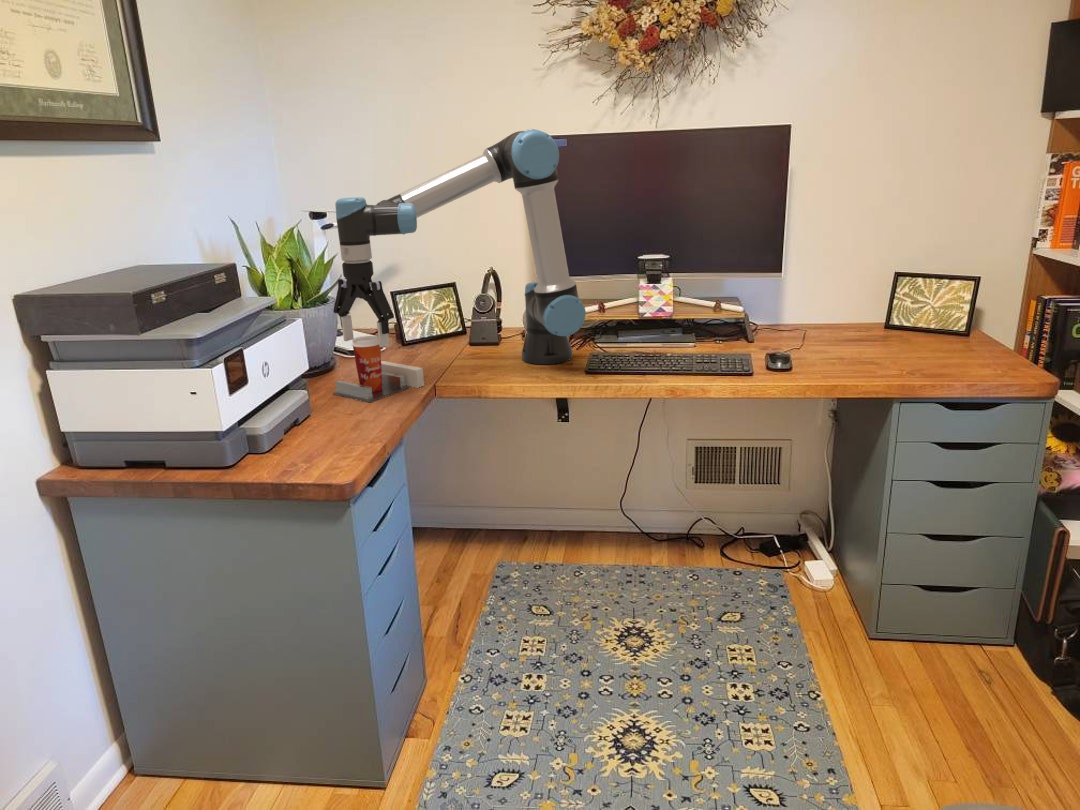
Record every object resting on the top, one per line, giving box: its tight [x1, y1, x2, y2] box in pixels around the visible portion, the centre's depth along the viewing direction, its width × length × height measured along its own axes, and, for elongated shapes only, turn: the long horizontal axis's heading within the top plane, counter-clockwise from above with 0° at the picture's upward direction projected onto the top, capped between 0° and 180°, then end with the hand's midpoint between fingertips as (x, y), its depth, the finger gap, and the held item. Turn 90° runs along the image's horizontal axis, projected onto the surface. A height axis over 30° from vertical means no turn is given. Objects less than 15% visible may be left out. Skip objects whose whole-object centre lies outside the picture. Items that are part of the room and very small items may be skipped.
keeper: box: [332, 372, 410, 403], centre depth 204 cm, size 14×14×4 cm
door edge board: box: [381, 360, 425, 389], centre depth 211 cm, size 18×2×5 cm, turn 54°
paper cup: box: [351, 335, 382, 393], centre depth 202 cm, size 8×8×14 cm
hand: (366, 343), depth 200 cm, fingers open, 13 cm apart
